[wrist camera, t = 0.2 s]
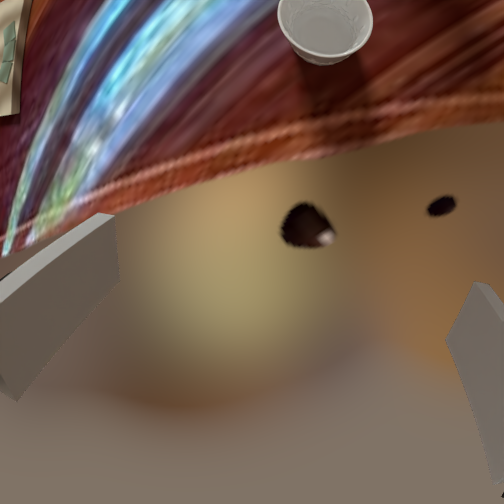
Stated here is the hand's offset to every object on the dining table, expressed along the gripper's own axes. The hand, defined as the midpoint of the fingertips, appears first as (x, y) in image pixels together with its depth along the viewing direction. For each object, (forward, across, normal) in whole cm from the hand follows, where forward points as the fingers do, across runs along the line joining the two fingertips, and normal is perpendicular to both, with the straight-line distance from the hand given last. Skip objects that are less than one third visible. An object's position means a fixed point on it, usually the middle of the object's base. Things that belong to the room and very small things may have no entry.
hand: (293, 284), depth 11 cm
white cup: (+28, 0, +14) cm, 32 cm away
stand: (+28, -56, +15) cm, 65 cm away
